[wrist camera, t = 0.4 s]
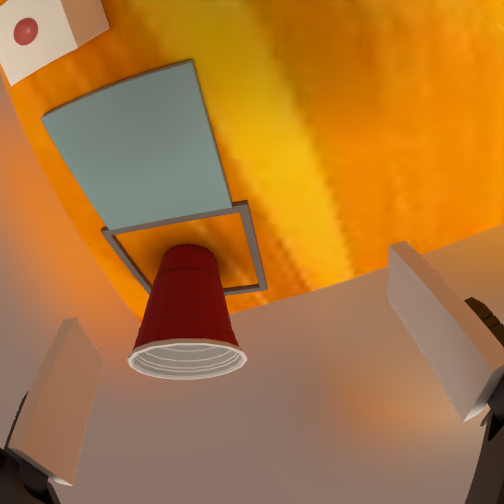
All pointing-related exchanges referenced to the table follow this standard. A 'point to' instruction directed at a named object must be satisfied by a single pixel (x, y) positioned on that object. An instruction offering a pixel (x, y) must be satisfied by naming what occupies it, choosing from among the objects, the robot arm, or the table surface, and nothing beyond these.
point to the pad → (143, 148)
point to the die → (45, 32)
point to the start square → (236, 208)
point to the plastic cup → (186, 321)
